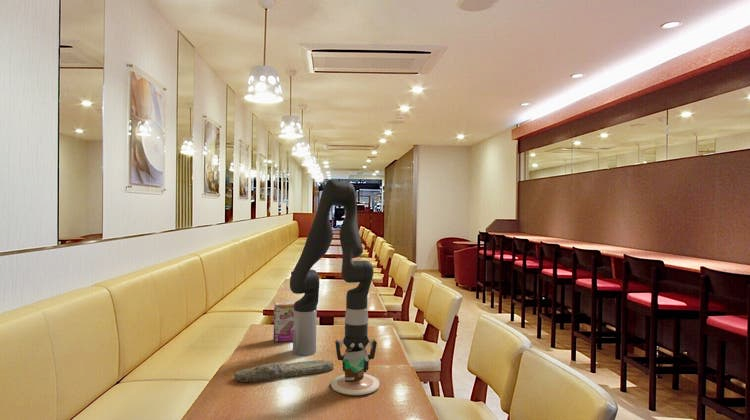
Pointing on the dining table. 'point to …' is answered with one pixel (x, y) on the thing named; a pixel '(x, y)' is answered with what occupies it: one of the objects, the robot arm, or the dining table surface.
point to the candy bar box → (283, 322)
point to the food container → (354, 365)
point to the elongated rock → (282, 370)
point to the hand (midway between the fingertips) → (355, 371)
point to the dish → (355, 385)
